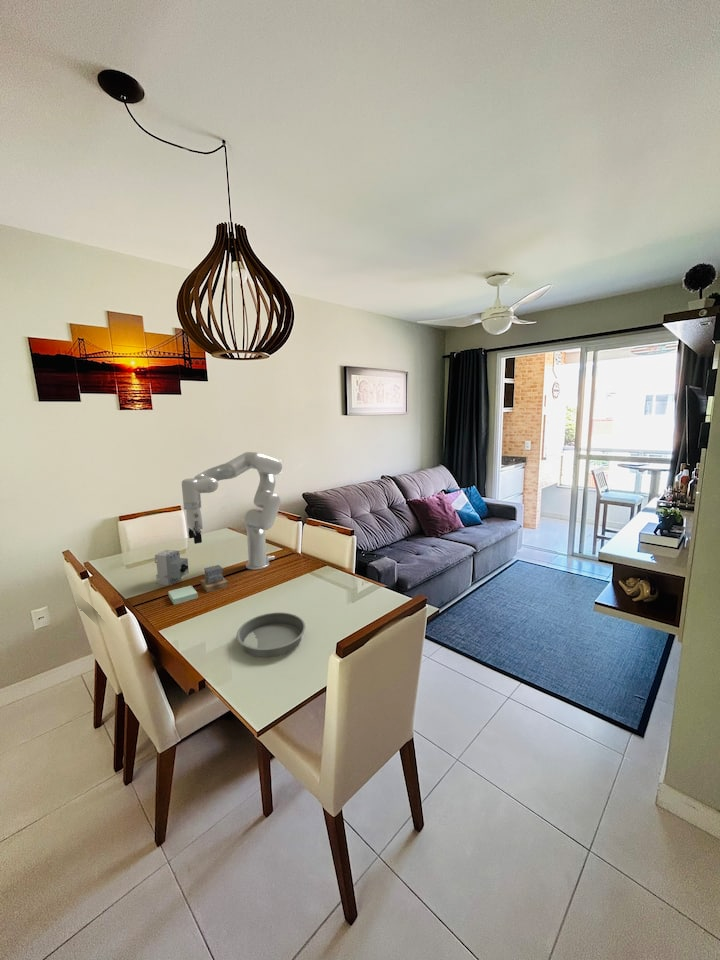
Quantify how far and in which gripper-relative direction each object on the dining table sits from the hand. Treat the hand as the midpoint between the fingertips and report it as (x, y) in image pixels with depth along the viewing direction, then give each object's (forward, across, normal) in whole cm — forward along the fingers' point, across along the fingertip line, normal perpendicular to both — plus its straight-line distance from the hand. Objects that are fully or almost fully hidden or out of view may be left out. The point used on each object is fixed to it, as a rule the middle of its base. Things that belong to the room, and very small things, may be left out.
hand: (195, 540), depth 179 cm
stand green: (+23, -7, +9) cm, 26 cm away
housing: (+21, -4, -6) cm, 22 cm away
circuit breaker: (+24, +13, +8) cm, 28 cm away
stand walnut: (+24, -4, -6) cm, 25 cm away
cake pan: (+24, -62, -10) cm, 68 cm away
